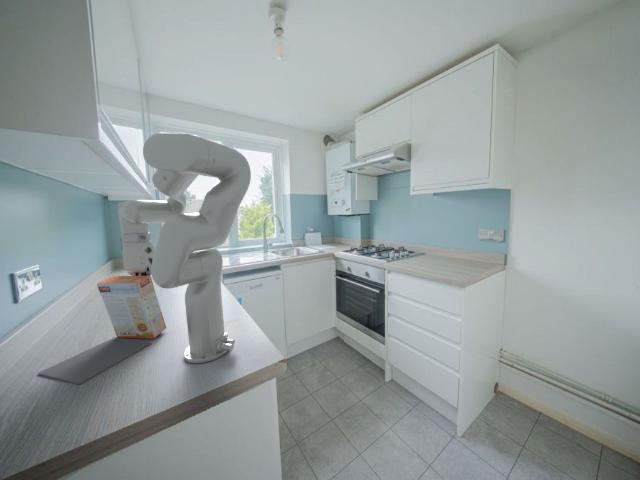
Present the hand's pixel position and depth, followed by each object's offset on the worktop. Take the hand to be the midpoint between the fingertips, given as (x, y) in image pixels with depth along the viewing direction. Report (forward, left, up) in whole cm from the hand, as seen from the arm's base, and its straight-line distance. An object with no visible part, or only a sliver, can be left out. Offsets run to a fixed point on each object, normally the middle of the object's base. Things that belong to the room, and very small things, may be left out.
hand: (142, 290), depth 78 cm
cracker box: (0, +2, -15) cm, 15 cm away
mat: (-1, +15, -15) cm, 21 cm away
